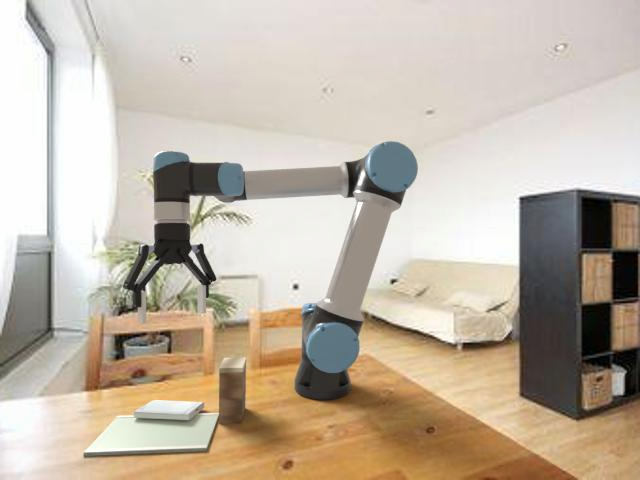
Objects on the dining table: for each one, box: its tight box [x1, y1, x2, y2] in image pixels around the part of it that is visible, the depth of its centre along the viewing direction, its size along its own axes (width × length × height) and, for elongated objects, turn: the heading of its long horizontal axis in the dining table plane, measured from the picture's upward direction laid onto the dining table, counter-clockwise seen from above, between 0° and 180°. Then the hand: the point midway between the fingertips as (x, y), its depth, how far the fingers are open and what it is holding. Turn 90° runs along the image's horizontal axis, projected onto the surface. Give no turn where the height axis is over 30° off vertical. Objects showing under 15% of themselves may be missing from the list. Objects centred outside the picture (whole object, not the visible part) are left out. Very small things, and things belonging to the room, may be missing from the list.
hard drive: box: [133, 399, 205, 420], centre depth 84 cm, size 2×8×12 cm
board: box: [83, 412, 219, 457], centre depth 76 cm, size 22×14×1 cm, turn 96°
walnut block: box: [218, 356, 247, 425], centre depth 85 cm, size 5×7×12 cm
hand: (173, 317), depth 84 cm, fingers open, 13 cm apart
